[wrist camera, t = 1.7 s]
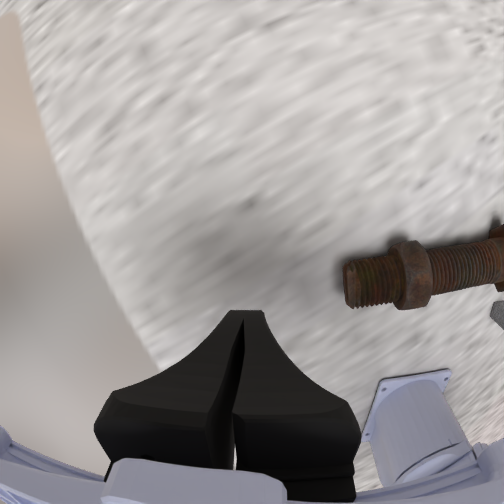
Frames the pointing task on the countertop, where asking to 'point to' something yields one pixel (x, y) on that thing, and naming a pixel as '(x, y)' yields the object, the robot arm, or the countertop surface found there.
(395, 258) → the bolt
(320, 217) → the countertop surface
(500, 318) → the grey shallow rectangular tray
